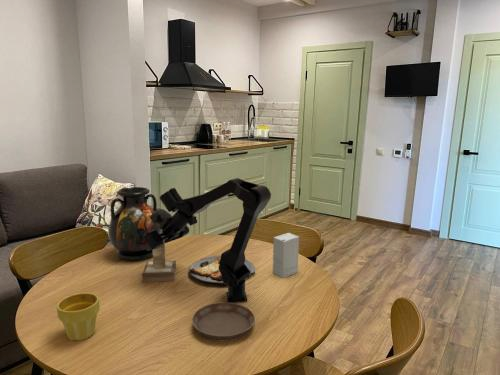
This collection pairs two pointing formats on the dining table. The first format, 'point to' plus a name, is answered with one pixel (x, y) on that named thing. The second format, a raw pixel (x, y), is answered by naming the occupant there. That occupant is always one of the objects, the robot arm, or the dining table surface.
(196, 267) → the food plate
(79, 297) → the plant pot
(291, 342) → the dining table surface
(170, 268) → the plinth
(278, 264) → the skincare box
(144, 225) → the amphora vase
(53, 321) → the dining table surface
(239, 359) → the dining table surface
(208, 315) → the plant saucer
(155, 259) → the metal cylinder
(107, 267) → the dining table surface
